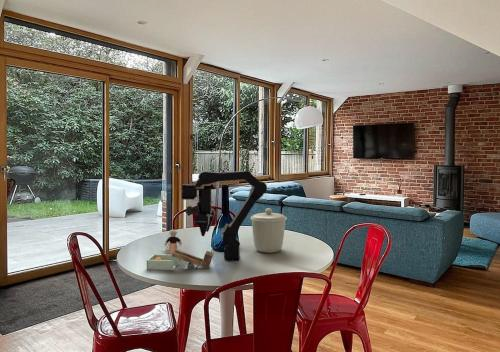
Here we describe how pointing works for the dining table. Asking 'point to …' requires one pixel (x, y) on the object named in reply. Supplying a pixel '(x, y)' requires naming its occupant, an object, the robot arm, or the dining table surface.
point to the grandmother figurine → (172, 241)
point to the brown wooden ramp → (194, 258)
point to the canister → (268, 231)
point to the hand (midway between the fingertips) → (205, 233)
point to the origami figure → (168, 245)
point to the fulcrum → (190, 267)
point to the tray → (162, 262)
